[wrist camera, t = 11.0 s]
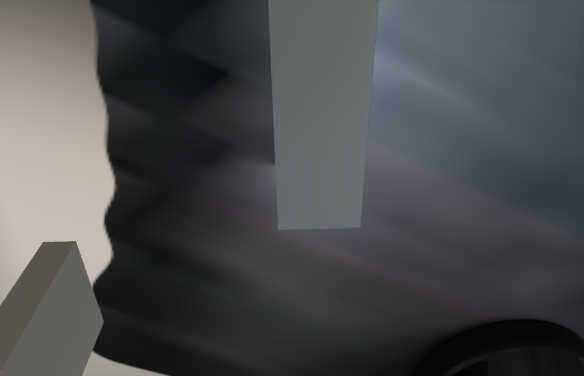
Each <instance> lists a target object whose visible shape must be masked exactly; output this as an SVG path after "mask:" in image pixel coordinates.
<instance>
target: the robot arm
mask: <svg viewBox="0 0 584 376" xmlns="http://www.w3.org/2000/svg"><path fill="white" fill-rule="evenodd" d="M102 325H103V319H102V316H101V313H100V310H99V307H98V304H97V301H96V298H95V295H94V293H93V290H92V287H91V284H90V281H89V278H88V275H87V273H86V269H85V266H84V264H83V261H82V258H81V255H80V252H79V249H78V246H77V243H76V241H71V242H43V243H42V245H41V246H40V248H39V249H38V251H37V252H36V254H35V255H34V257H33V258H32V259H31V261H30V262H29V264H28V265H27V267H26V268H25V270H24V271H23V273H22V274H21V276H20V277H19V279H18V280H17V282H16V283H15V285H14V286H13V288H12V289H11V291H10V292H9V294H8V295H7V297H6V298H5V300H4V301H3V303H2V304H1V306H0V376H82V374H83V371H84V369H85V366H86V364H87V361H88V359H89V357H90V354H91V352H92V349H93V347H94V345H95V342H96V340H97V337H98V335H99V332H100V330H101V327H102ZM413 376H584V340H583V339H582V338H581V337H579V336H578V335H577V334H575V333H574V332H572V331H570V330H568V329H566V328H563V327H561V326H558V325H554V324H550V323H544V322H534V321H517V322H506V323H499V324H494V325H490V326H485V327H482V328H478V329H475V330H472V331H469V332H467V333H464V334H462V335H460V336H458V337H455V338H453V339H451V340H450V341H448V342H446V343H444V344H443V345H441V346H440V347H438V348H437V349H436V350H434V351H433V352H432V353H430V354H429V355H428V356H427V357H426V358H425V359H424V360H423V361H422V362H421V363H420V365H419V366H418V367H417V369H416V371H415V372H414V374H413Z"/></svg>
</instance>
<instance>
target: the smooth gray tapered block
mask: <svg viewBox="0 0 584 376" xmlns="http://www.w3.org/2000/svg"><path fill="white" fill-rule="evenodd" d="M378 4H379V0H268V9H269V32H270V54H271V77H272V100H273V123H274V145H275V168H276V191H277V213H278V230H294V229H330V228H360V226H361V214H362V201H363V189H364V177H365V164H366V152H367V140H368V127H369V115H370V103H371V90H372V78H373V66H374V53H375V41H376V29H377V16H378Z"/></svg>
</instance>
